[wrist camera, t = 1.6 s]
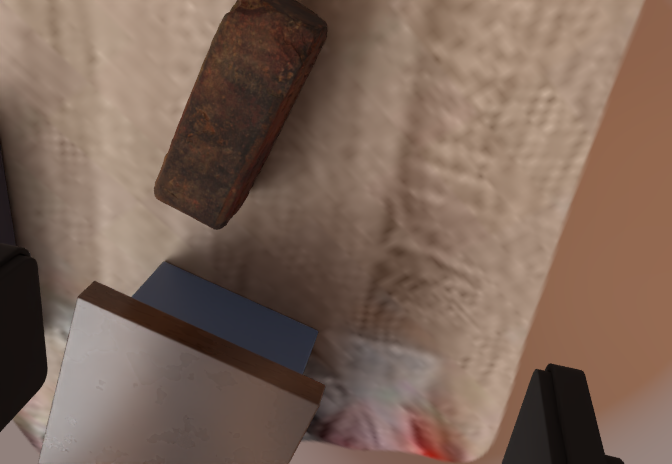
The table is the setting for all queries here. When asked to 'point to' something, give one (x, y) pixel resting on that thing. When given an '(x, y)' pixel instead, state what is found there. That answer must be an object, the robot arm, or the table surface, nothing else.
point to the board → (168, 393)
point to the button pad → (5, 210)
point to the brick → (238, 107)
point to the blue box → (228, 316)
